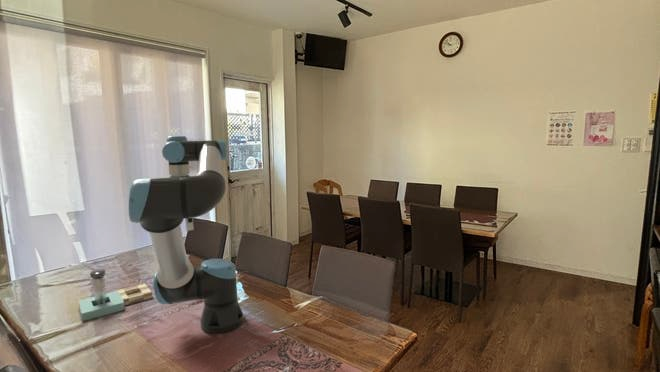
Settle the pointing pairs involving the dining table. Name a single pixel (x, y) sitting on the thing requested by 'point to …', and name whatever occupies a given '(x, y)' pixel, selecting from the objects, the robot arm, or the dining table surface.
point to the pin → (99, 287)
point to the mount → (135, 294)
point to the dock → (101, 306)
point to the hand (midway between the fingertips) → (183, 227)
